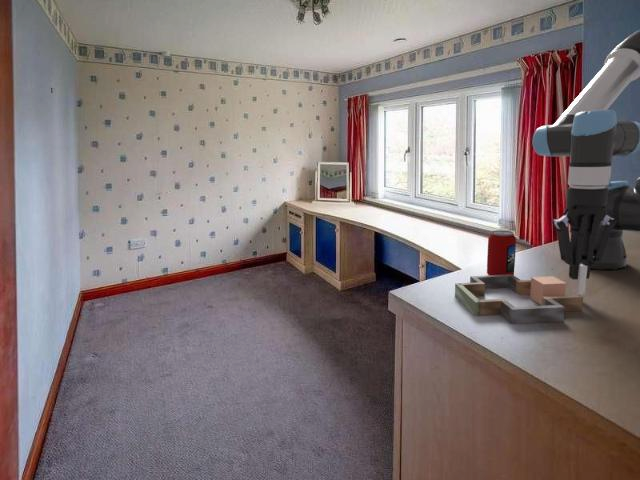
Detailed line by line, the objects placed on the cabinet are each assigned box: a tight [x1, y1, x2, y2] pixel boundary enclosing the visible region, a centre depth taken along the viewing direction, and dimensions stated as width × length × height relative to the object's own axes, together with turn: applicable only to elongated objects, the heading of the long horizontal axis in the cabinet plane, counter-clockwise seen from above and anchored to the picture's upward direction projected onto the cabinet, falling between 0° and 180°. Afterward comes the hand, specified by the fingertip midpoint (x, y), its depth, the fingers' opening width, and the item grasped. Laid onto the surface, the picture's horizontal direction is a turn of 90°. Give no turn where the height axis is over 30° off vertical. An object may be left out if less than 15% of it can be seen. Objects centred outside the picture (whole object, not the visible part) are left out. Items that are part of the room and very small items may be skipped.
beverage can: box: [486, 229, 517, 276], centre depth 112 cm, size 7×7×12 cm
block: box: [529, 275, 567, 306], centre depth 94 cm, size 5×5×5 cm
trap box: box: [454, 274, 584, 325], centre depth 94 cm, size 23×22×3 cm
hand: (577, 292), depth 94 cm, fingers closed
